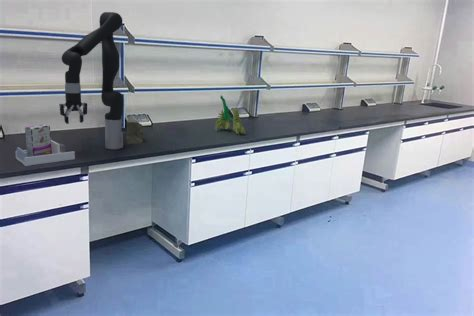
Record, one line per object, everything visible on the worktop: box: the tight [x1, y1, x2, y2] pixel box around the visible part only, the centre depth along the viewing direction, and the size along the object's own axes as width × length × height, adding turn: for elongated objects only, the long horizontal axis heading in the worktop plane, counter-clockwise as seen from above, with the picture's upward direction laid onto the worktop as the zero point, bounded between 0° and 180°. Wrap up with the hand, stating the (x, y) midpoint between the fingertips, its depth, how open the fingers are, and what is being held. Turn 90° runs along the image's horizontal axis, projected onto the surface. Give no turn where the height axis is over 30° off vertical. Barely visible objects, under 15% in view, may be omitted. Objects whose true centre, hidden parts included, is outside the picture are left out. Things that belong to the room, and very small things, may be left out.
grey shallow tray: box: [15, 146, 76, 167], centre depth 206 cm, size 24×14×6 cm, turn 134°
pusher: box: [51, 139, 66, 154], centre depth 210 cm, size 5×12×7 cm, turn 44°
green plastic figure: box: [213, 95, 247, 135], centre depth 295 cm, size 26×17×30 cm, turn 50°
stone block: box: [125, 118, 144, 145], centre depth 253 cm, size 10×15×15 cm
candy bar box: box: [24, 123, 52, 157], centre depth 203 cm, size 11×5×16 cm, turn 155°
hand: (74, 122), depth 213 cm, fingers open, 7 cm apart
